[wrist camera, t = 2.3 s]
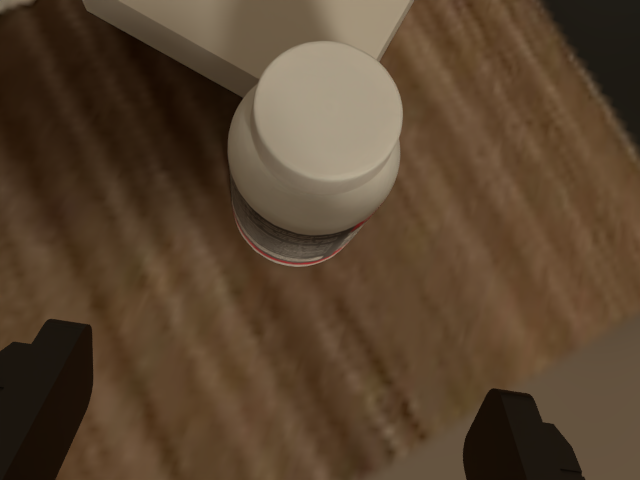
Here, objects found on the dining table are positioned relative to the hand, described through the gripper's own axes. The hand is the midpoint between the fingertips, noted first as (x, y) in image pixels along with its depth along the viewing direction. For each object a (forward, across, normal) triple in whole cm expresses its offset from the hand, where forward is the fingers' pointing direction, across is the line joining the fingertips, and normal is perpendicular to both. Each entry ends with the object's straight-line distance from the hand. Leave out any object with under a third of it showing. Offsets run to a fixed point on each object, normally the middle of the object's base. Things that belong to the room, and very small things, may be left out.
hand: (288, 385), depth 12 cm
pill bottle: (+13, 0, +3) cm, 14 cm away
